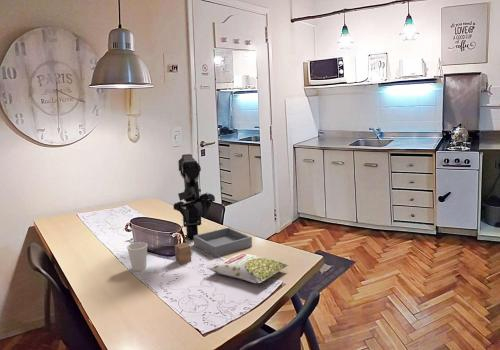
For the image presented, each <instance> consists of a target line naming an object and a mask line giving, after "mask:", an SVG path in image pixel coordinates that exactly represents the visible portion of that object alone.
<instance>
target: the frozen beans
mask: <svg viewBox="0 0 500 350" xmlns="http://www.w3.org/2000/svg"><path fill="white" fill-rule="evenodd" d="M287 267H289V265H288V264H286V263H282V262H280V261H279V260H278V261H277V260H275V259H270V258H266V257H262V256H259V255H254V254H249V253H241V252H240V253H237V254H235V255H233V256H231V257H229V258H228V259H225V260H223V261H221V262H219V263H217V264H215V265H213V266H211V267H208V268H207V269H209V271H211V272H214V273H216V274H220V275H222V276H223V275H224V276H227V277H231V278H235V279H238V280H243V281H247V282H248V283H249V282H250V283H253V284H261V283H263V282H264V281H266V280H268V279H270V278H271V277H273V276H274V275H275V274H277V273H279V272H280V271H282V270H283V269H285V268H287Z"/></svg>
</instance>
